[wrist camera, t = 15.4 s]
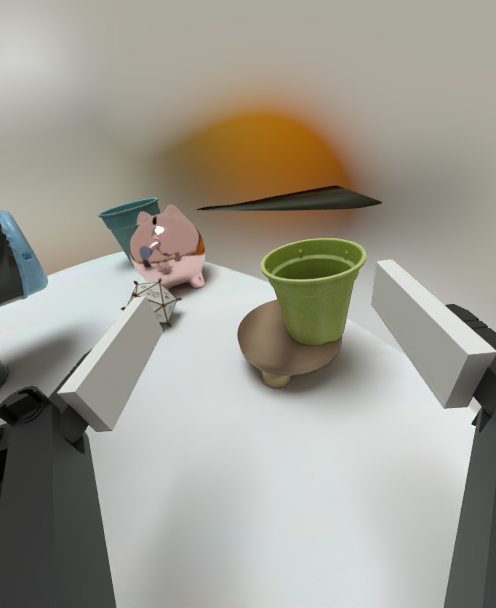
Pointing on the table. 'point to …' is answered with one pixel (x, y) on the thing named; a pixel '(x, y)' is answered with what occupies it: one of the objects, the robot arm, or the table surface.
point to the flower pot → (127, 220)
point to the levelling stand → (279, 346)
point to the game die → (156, 299)
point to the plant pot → (314, 286)
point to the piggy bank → (168, 249)
